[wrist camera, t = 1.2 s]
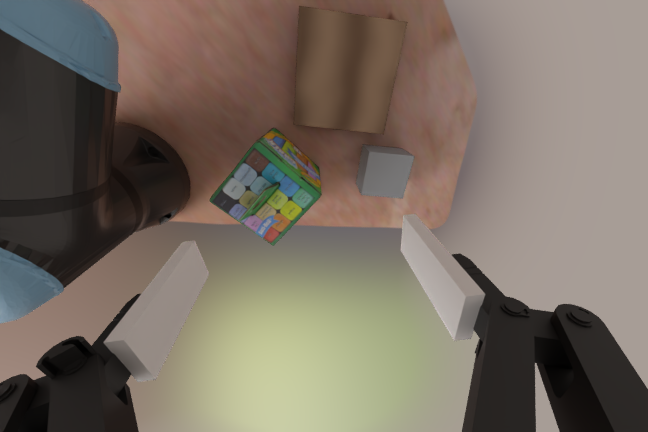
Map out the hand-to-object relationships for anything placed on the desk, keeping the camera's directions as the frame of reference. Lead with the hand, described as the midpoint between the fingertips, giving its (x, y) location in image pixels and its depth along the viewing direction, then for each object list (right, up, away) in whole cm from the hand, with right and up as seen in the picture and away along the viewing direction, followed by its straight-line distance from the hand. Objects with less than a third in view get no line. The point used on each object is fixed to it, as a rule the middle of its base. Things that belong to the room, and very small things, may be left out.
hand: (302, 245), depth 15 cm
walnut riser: (+4, +20, +16) cm, 25 cm away
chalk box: (-5, +9, +21) cm, 24 cm away
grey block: (+10, +10, +21) cm, 25 cm away
